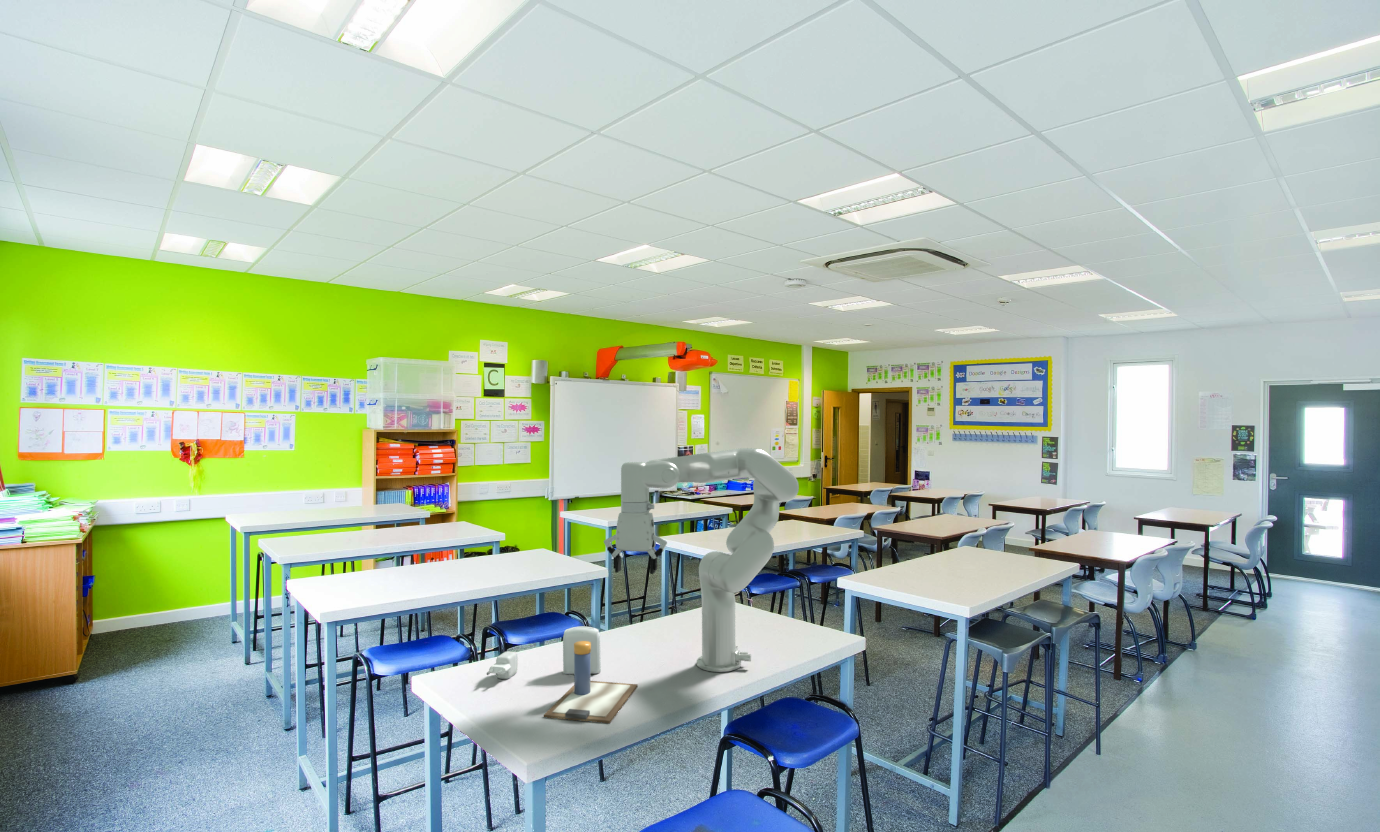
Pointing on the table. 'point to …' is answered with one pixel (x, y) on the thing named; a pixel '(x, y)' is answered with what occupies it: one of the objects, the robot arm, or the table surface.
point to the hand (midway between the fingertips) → (635, 572)
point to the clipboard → (592, 702)
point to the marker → (582, 667)
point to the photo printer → (575, 636)
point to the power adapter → (505, 665)
